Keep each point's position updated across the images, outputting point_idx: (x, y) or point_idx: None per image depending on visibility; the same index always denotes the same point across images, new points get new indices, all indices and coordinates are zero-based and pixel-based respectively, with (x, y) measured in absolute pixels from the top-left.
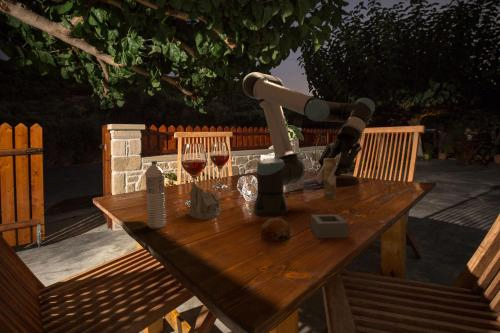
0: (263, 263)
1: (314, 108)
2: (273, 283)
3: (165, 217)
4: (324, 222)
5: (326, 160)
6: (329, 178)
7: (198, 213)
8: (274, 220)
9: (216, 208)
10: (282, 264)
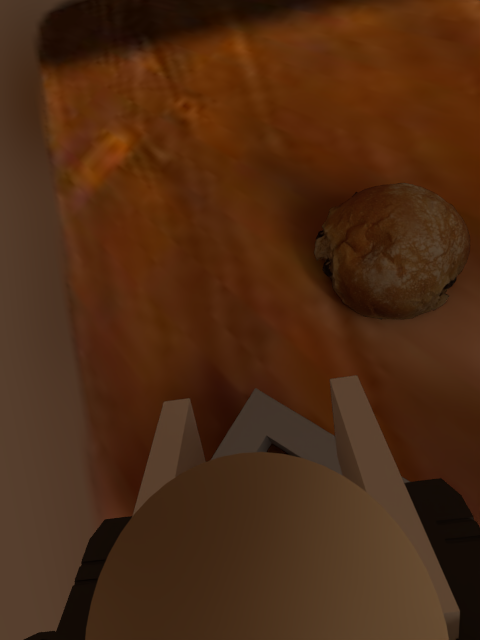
0: (210, 119)
1: None
2: (114, 95)
3: None
4: (248, 432)
5: (235, 459)
6: (166, 419)
7: None
8: (391, 206)
9: None
10: (172, 157)
